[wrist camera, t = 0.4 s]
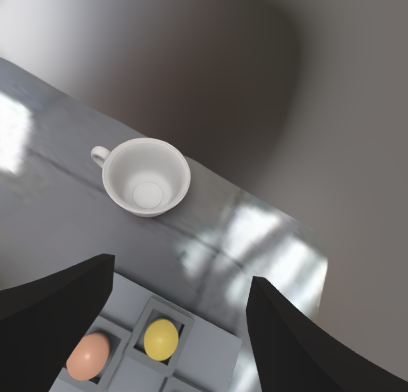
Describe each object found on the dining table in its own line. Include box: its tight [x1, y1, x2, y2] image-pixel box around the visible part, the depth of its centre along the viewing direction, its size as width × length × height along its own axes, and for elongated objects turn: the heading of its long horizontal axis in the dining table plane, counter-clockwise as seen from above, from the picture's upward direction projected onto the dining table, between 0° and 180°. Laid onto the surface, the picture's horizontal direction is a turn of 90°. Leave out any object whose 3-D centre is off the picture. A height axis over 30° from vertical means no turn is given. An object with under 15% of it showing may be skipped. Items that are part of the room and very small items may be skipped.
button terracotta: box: [66, 332, 111, 381], centre depth 25 cm, size 4×4×2 cm
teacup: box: [91, 138, 191, 217], centre depth 35 cm, size 12×15×10 cm
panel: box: [49, 272, 243, 392], centre depth 29 cm, size 14×22×5 cm, turn 64°
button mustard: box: [144, 318, 178, 361], centre depth 27 cm, size 4×4×2 cm
